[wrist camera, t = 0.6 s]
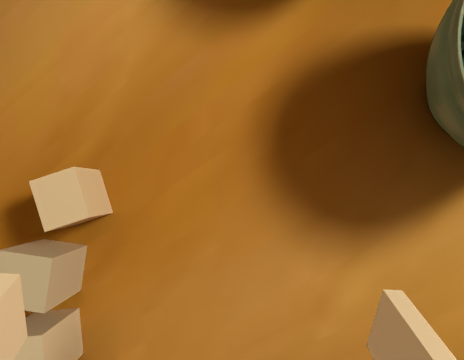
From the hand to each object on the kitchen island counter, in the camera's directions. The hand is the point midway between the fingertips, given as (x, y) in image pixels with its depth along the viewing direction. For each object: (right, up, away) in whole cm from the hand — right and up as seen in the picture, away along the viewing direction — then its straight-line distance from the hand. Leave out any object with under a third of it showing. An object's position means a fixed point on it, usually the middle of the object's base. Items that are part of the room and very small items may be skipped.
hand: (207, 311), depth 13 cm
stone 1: (-12, +3, +19) cm, 23 cm away
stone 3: (-14, -9, +19) cm, 25 cm away
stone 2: (-14, -3, +19) cm, 24 cm away
